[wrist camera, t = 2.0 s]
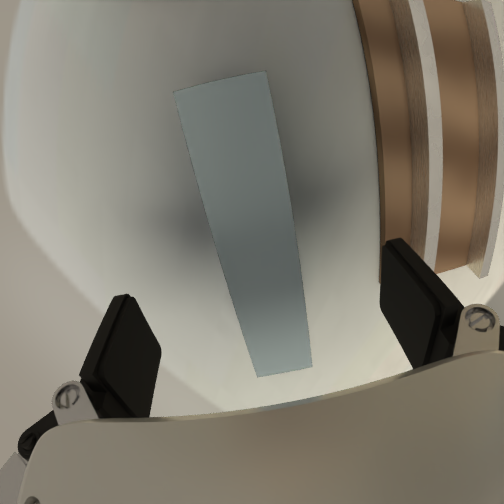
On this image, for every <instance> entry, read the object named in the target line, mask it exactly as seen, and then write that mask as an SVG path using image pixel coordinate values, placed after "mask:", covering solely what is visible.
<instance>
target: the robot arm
mask: <svg viewBox="0 0 504 504" xmlns="http://www.w3.org/2000/svg"><path fill="white" fill-rule="evenodd" d="M380 308H381V311H382V313H383V314H384V316H385V318H386V320H387V321H388V323H389V325H390V327H391V329H392V330H393V332H394V334H395V336H396V338H397V339H398V341H399V343H400V345H401V347H402V348H403V350H404V352H405V354H406V356H407V358H408V360H409V362H410V364H411V365H412V367H413V370H410V371H407V372H404V373H400V374H397V375H394V376H391V377H387V378H384V379H381V380H378V381H374V382H371V383H367V384H364V385H360V386H357V387H353V388H349V389H345V390H341V391H337V392H333V393H329V394H325V395H321V396H316V397H311V398H307V399H302V400H297V401H292V402H287V403H281V404H276V405H270V406H264V407H258V408H251V409H244V410H236V411H228V412H220V413H212V414H211V413H210V414H201V415H188V416H172V417H149V415H150V410H151V404H152V398H153V394H154V389H155V383H156V378H157V373H158V368H159V364H160V359H161V347H160V345H159V343H158V341H157V339H156V337H155V336H154V334H153V332H152V330H151V328H150V326H149V324H148V323H147V321H146V319H145V317H144V315H143V313H142V311H141V309H140V307H139V305H138V303H137V301H136V299H135V298H134V297H131V296H130V295H129V294H124V295H118V296H114V297H113V299H112V301H111V303H110V305H109V307H108V309H107V312H106V314H105V316H104V318H103V320H102V322H101V325H100V327H99V329H98V331H97V333H96V336H95V338H94V340H93V343H92V345H91V347H90V349H89V352H88V354H87V356H86V359H85V361H84V364H83V366H82V369H81V371H80V374H79V376H80V377H81V381H80V382H77V381H69V382H66V383H64V384H62V385H61V386H60V387H59V388H58V389H57V390H56V391H55V393H54V395H53V398H52V407H53V411H51V412H50V413H49V414H47V415H46V416H44V417H43V418H42V419H40V420H39V421H38V422H36V423H35V424H34V425H32V426H31V427H30V428H28V429H27V430H26V431H25V432H24V433H23V434H22V435H21V437H20V439H19V441H18V452H19V453H18V454H17V453H16V452H14V453H13V455H12V456H11V457H10V458H9V460H8V461H7V462H6V463H5V465H4V466H3V467H2V468H1V470H0V504H504V326H500V321H499V318H498V315H497V313H496V312H495V311H494V310H493V309H491V308H490V307H488V306H485V305H482V304H472V305H469V306H467V307H464V306H463V305H462V304H461V303H460V301H459V300H458V299H457V298H456V296H455V295H454V294H453V293H452V292H451V291H450V289H449V288H448V287H447V286H446V285H445V284H444V283H443V281H442V280H441V279H440V278H439V277H438V276H437V275H436V274H435V273H434V271H433V270H432V269H431V268H430V267H429V266H428V265H427V264H426V263H425V262H424V261H423V259H422V258H421V257H420V256H419V255H418V254H417V253H416V252H415V251H414V250H413V249H412V248H411V247H410V246H409V245H408V244H407V243H406V242H405V241H404V240H403V239H402V238H395V239H391V240H387V241H386V243H385V245H383V246H382V253H381V286H380Z"/></svg>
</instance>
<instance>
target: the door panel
mask: <svg viewBox="0 0 504 504" xmlns="http://www.w3.org/2000/svg"><path fill="white" fill-rule="evenodd" d="M173 94H174V98H175V102H176V106H177V109H178V113H179V117H180V121H181V125H182V129H183V132H184V136H185V140H186V144H187V147H188V151H189V155H190V159H191V162H192V166H193V169H194V173H195V177H196V180H197V184H198V187H199V191H200V195H201V198H202V202H203V205H204V209H205V212H206V215H207V219H208V222H209V226H210V229H211V233H212V236H213V239H214V243H215V246H216V249H217V253H218V256H219V259H220V263H221V266H222V269H223V272H224V276H225V279H226V282H227V285H228V289H229V292H230V295H231V298H232V301H233V305H234V308H235V311H236V314H237V317H238V320H239V323H240V327H241V330H242V333H243V336H244V339H245V342H246V345H247V348H248V351H249V354H250V357H251V360H252V363H253V366H254V369H255V372H256V375H257V377H263V376H269V375H274V374H280V373H285V372H290V371H295V370H300V369H305V368H310V367H312V358H311V348H310V339H309V330H308V322H307V313H306V305H305V297H304V290H303V282H302V275H301V267H300V260H299V253H298V246H297V239H296V233H295V226H294V220H293V213H292V207H291V201H290V195H289V189H288V183H287V177H286V171H285V166H284V160H283V155H282V149H281V144H280V138H279V133H278V128H277V123H276V117H275V112H274V107H273V102H272V97H271V93H270V88H269V83H268V78H267V74H266V71H261V72H255V73H250V74H245V75H240V76H235V77H230V78H225V79H221V80H216V81H212V82H208V83H204V84H200V85H196V86H192V87H189V88H185V89H182V90H178V91H175V92H173Z"/></svg>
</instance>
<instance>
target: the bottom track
mask: <svg viewBox="0 0 504 504" xmlns="http://www.w3.org/2000/svg"><path fill="white" fill-rule="evenodd" d="M352 1H353V5H354V8H355V12H356V17H357V21H358V25H359V30H360V34H361V39H362V44H363V49H364V54H365V59H366V65H367V71H368V77H369V83H370V90H371V97H372V104H373V112H374V121H375V130H376V141H377V153H378V167H379V186H380V275H379V283H380V284H381V253H382V246H383V245H385V243H386V241H387V240H391V239H395V238H402V239H403V240H404V241H405V242H406V243H407V244H408V245H409V246H410V247H411V248H412V249H413V250H414V251H415V252H416V253H417V254H418V255H419V256H420V257H421V258H422V259H423V261H424V262H425V263H426V264H427V265H428V266H429V267H430V268H431V269H432V270H433V271H434V273H435V274H438V273H441V272H445V271H448V270H451V269H455V268H458V267H461V266H464V265H467V266H468V267H469V268H470V269H471V270H472V271H473V273H474V274H475V275H476V276H477V277H478V278H479V279H480V278H483V277H485V276H488V273H489V269H490V265H491V261H492V256H493V252H494V247H495V242H496V237H497V232H498V227H499V221H500V214H501V208H502V200H503V192H504V69H503V61H502V54H501V47H500V41H499V36H498V31H497V26H496V21H495V17H494V13H493V9H492V5H491V2H488V1H485V0H472V1H466V2H459V1H455V0H352Z"/></svg>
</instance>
